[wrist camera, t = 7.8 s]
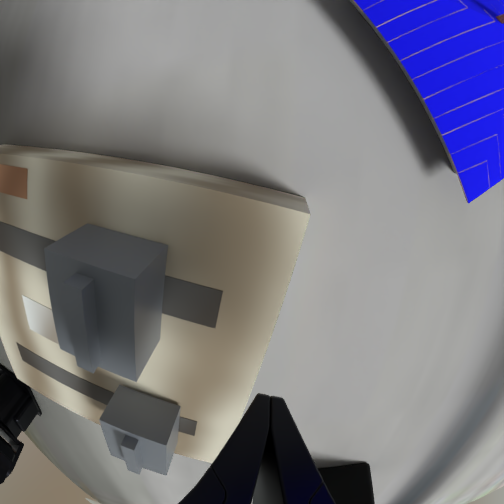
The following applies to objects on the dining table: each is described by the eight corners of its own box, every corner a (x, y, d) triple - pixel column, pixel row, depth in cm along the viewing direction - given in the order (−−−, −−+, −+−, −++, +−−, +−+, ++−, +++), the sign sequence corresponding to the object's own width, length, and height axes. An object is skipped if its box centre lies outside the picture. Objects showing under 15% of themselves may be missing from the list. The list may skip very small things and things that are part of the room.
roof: (462, -44, 6) (502, -74, 1) (552, 116, 9) (607, 124, 4) (320, -8, 10) (335, -67, 5) (445, 192, 13) (507, 223, 8)
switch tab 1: (91, 314, 13) (51, 359, 10) (87, 223, 11) (30, 256, 8) (160, 339, 13) (129, 395, 10) (168, 245, 11) (123, 291, 8)
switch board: (33, 359, 21) (16, 378, 18) (4, 144, 14) (-28, 151, 11) (228, 436, 21) (222, 465, 18) (304, 197, 13) (310, 214, 11)
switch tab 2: (125, 424, 17) (106, 463, 14) (119, 384, 15) (93, 429, 12) (177, 442, 17) (163, 484, 14) (180, 406, 15) (162, 457, 12)
